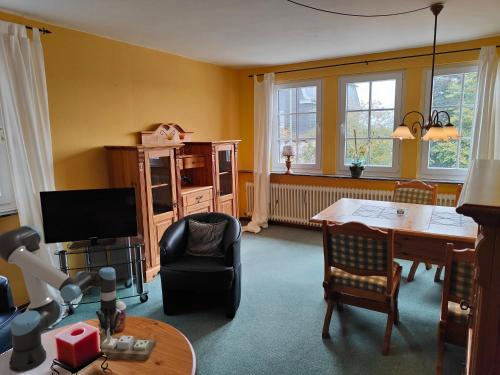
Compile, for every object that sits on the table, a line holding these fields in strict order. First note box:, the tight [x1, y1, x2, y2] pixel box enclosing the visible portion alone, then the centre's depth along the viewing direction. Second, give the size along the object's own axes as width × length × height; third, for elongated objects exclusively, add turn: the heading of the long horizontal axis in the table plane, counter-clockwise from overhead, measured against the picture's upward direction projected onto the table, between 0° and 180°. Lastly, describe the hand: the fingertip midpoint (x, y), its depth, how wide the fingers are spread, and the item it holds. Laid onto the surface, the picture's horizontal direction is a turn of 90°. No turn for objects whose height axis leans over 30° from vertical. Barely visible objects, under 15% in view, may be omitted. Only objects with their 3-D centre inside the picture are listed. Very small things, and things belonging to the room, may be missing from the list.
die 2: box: [117, 334, 134, 350], centre depth 175 cm, size 6×6×4 cm
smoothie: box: [114, 296, 127, 333], centre depth 194 cm, size 8×8×20 cm
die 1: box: [101, 338, 118, 349], centre depth 176 cm, size 6×6×4 cm
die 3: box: [134, 340, 149, 351], centre depth 175 cm, size 6×6×4 cm
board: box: [99, 336, 157, 361], centre depth 176 cm, size 28×13×3 cm, turn 87°
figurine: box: [97, 314, 115, 341], centre depth 186 cm, size 8×8×15 cm
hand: (109, 340), depth 176 cm, fingers closed
